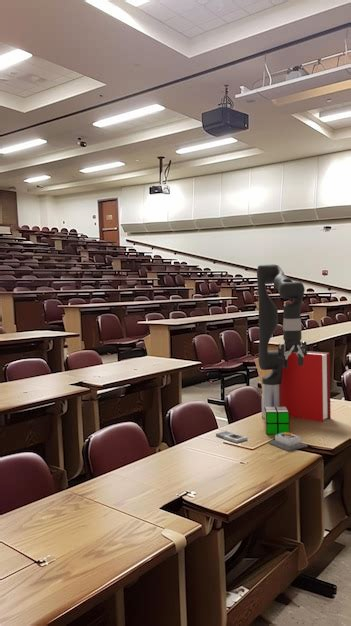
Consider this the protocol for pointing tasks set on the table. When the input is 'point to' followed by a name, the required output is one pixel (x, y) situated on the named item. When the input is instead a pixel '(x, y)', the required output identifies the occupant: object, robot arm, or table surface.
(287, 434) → the keeper
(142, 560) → the table surface
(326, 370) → the book
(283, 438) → the link
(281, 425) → the puzzle cube
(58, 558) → the table surface
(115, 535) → the table surface
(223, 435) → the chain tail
